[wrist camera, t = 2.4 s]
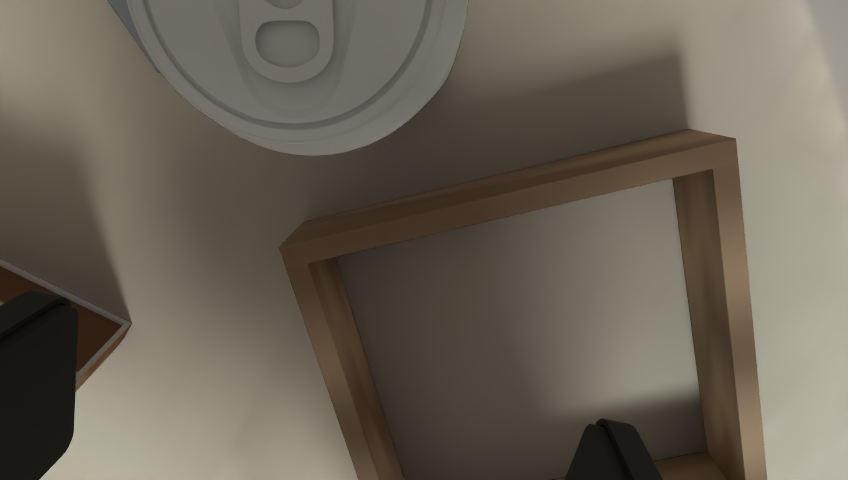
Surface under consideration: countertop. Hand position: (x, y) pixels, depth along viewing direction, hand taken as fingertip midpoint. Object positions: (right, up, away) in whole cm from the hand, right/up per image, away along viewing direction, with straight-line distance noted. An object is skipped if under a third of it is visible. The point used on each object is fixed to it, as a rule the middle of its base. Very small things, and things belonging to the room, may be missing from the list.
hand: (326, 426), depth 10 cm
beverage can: (0, +11, +11) cm, 16 cm away
